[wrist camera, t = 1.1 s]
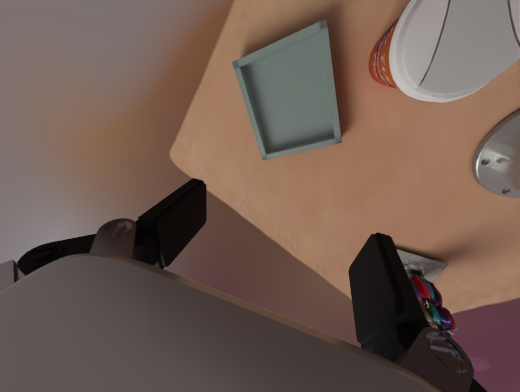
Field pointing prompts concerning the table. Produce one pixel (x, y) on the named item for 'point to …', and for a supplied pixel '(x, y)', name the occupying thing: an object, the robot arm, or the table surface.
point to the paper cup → (447, 47)
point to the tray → (291, 93)
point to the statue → (428, 289)
